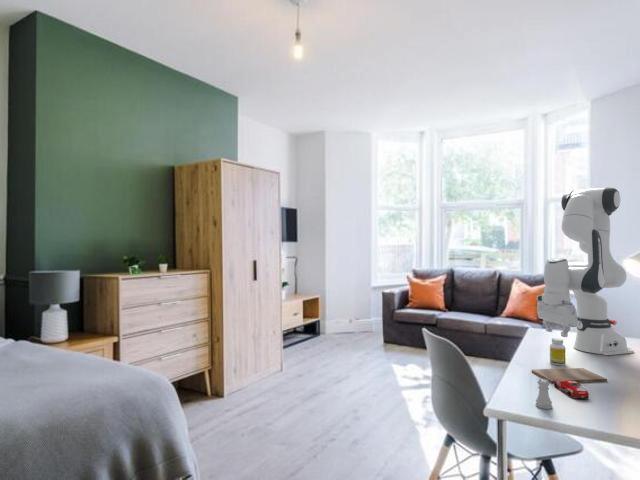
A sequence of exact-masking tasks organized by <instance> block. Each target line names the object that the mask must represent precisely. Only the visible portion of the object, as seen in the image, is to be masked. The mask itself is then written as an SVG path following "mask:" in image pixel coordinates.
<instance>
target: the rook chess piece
mask: <svg viewBox="0 0 640 480" xmlns="http://www.w3.org/2000/svg"><path fill="white" fill-rule="evenodd" d="M537 384H538V385H539V386H538V396H537V397H536V399H535V406H536V407H537V408H539V409H542V410H551V409H553V405H552V404H553V402H552V400H551V398H550V396H549V390H550V388H549V386H550V385H551V383H550V382H548V380H547V379H546V380H545V379H543V378H541V377H539V378H538V381H537Z"/></svg>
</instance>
